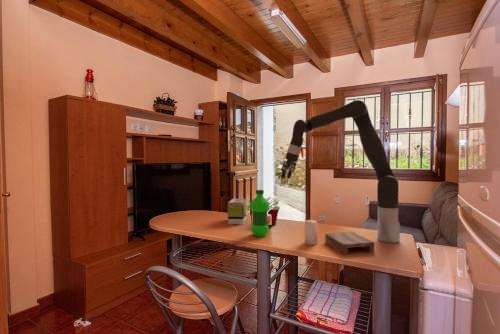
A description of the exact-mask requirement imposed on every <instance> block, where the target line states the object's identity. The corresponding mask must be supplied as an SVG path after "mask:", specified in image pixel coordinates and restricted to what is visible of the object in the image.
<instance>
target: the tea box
mask: <svg viewBox="0 0 500 334" xmlns="http://www.w3.org/2000/svg"><path fill="white" fill-rule="evenodd" d="M246 203H247V200H246V198H231V199H230V200H229V201H227V222H228V223H227V224H228V225H231V224H239V226H241V225H242V226H243V225H244V223H245V222H246V220H247V204H246Z"/></svg>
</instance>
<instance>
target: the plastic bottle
mask: <svg viewBox="0 0 500 334" xmlns="http://www.w3.org/2000/svg"><path fill="white" fill-rule="evenodd" d="M264 191H265V190H264V189H256V190H255V194H256V196H255V198H253V199H252V200H251V201H250V205H249V206H250V210H251V211H252V224H251V227H250V231H251V232H252V234H254V235H255V237H258V238H261V237H266V235H267V234H268V233H269V231H270V226H268V224H267V210H268V209H269V205H270V202H269V201H268V200H267V198H265V197H264V195H263V194H264Z"/></svg>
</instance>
